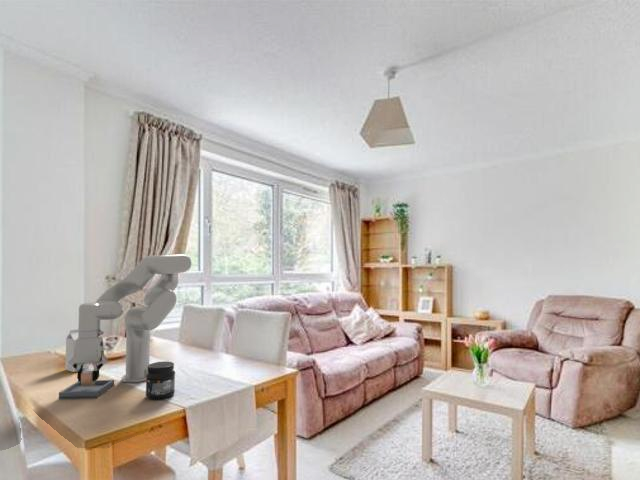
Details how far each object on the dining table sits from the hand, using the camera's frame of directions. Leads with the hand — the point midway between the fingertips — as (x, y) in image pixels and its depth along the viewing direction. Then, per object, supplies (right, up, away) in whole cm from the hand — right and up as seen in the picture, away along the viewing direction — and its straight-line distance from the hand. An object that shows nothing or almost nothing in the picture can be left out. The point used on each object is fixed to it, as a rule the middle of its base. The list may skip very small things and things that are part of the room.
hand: (88, 379), depth 153 cm
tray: (0, -5, 0) cm, 5 cm away
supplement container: (+30, -5, -4) cm, 31 cm away
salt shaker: (0, -2, 0) cm, 2 cm away
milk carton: (-23, -6, +30) cm, 39 cm away
